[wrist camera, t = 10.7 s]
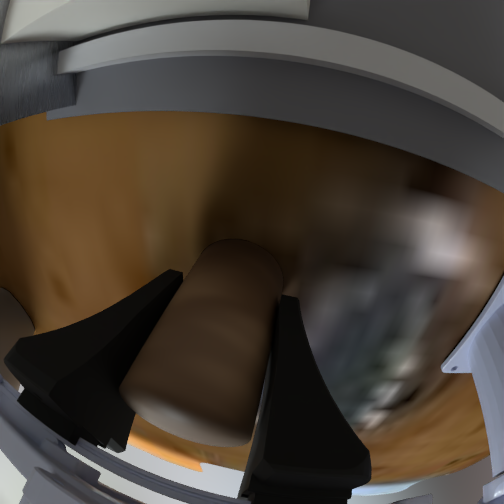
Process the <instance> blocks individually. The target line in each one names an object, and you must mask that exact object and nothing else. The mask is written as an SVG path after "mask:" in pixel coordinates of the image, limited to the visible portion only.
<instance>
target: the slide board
mask: <svg viewBox="0 0 504 504" xmlns="http://www.w3.org/2000/svg"><path fill="white" fill-rule="evenodd" d="M66 73H77V86H76V105H74V106H69V107H64V108H60V109H55V110H51V111H47V120H52V119H58V118H65V117H72V116H80V115H89V114H99V113H112V112H130V111H192V112H211V113H224V114H235V115H245V116H253V117H261V118H269V119H275V120H282V121H288V122H294V123H300V124H305V125H310V126H315V127H320V128H325V129H329V130H334V131H338V132H342V133H346V134H350V135H354V136H358V137H362V138H366V139H369V140H373V141H376V142H380V143H383V144H386V145H389V146H393V147H396V148H399V149H402V150H405V151H408V152H411V153H414V154H416V155H419V156H422V157H425V158H427V159H430V160H433V161H435V162H438V163H440V164H443V165H445V166H448V167H450V168H452V169H455V170H457V171H459V172H462V173H464V174H466V175H468V176H471V177H473V178H475V179H477V180H479V181H481V182H483V183H485V184H487V185H489V186H491V187H493V188H495V189H497V190H499V191H501V192H503V193H504V0H310V7H309V15H308V20H302V19H295V18H286V17H275V16H261V15H208V16H194V17H183V18H174V19H167V20H160V21H154V22H148V23H143V24H138V25H133V26H129V27H124V28H120V29H116V30H112V31H109V32H105V33H101V34H98V35H95V36H92V37H88V38H85V39H82V40H81V41H80V44H79V45H76V46H73V47H70V48H68V49H65V50H62V51H60V52H59V58H58V70H57V74H66Z"/></svg>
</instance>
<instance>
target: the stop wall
mask: <svg viewBox="0 0 504 504" xmlns="http://www.w3.org/2000/svg"><path fill="white" fill-rule="evenodd" d="M9 3H10V0H0V125H3V124H6V123H9V122H12V121H15V120H18V119H21V118H25V117H28V116H32V115H35V114H39V113H43V112H47V111H51V110H55V109H60V108H64V107H69V106H74V105H76V86H77V73H66V74H57V70H58V58H59V52H60V51H62V50H65V49H68V48H70V47H73V46H76V45H79V44H80V41H81V40H80V41H28V42H15V43H6V44H1V39H2V33H3V28H4V23H5V19H6V14H7V10H8V7H9Z"/></svg>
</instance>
